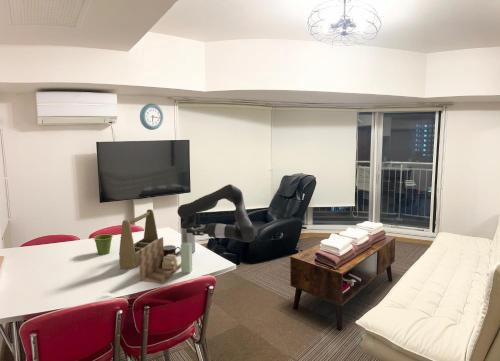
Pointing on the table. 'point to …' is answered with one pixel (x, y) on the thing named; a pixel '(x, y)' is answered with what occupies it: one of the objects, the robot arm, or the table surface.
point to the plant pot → (103, 243)
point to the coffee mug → (170, 250)
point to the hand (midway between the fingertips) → (189, 228)
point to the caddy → (130, 250)
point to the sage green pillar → (186, 257)
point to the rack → (154, 263)
